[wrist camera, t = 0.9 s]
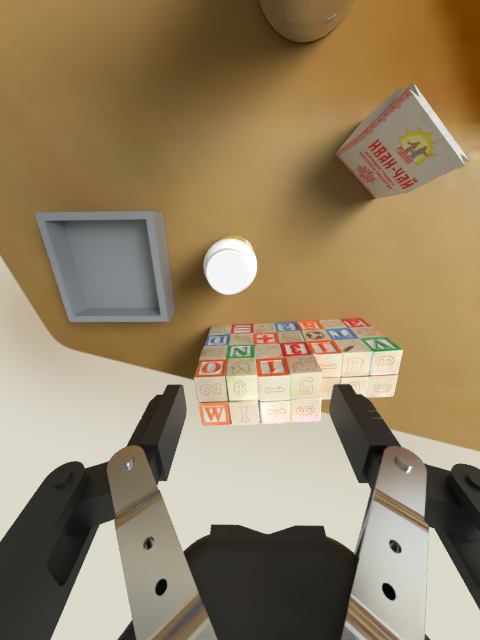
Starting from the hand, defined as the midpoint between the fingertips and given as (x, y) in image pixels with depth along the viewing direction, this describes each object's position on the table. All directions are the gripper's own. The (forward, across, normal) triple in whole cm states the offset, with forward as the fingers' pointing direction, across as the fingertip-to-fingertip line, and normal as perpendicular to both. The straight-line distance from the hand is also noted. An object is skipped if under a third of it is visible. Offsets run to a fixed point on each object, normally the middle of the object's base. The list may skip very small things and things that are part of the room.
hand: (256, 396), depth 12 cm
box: (+20, +17, -3) cm, 26 cm away
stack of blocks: (+20, -5, +8) cm, 22 cm away
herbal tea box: (+21, -13, -14) cm, 28 cm away
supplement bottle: (+20, +2, -4) cm, 21 cm away
